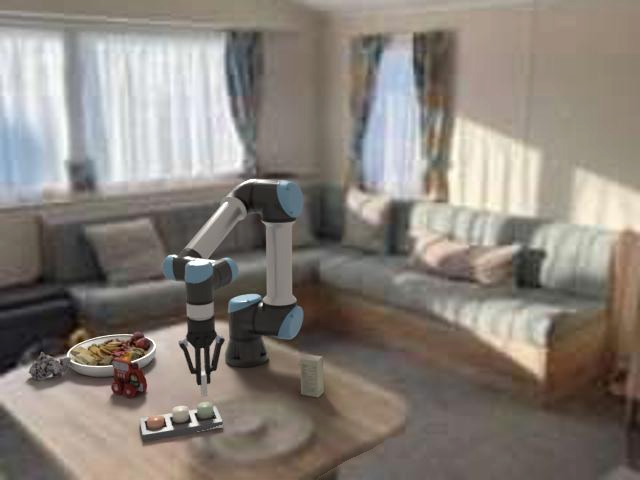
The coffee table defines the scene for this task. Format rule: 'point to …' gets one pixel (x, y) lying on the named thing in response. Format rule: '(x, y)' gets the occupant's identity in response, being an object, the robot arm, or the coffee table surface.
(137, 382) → the toy fire truck
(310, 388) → the skincare box
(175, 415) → the button cream
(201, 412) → the button sage
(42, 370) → the mineral specimen
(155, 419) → the button terracotta
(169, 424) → the frame
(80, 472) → the coffee table surface
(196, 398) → the coffee table surface
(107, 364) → the bowl
